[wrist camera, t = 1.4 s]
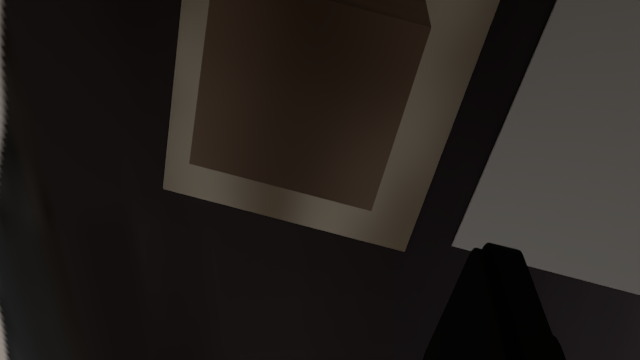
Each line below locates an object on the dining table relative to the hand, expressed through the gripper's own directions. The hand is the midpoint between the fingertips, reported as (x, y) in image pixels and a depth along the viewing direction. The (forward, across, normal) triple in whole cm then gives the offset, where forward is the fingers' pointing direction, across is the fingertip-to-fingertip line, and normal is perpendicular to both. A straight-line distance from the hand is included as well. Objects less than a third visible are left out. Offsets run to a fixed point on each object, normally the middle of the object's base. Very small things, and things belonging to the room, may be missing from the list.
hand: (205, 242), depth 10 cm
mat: (+14, -14, +1) cm, 20 cm away
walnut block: (+14, -1, 0) cm, 14 cm away
